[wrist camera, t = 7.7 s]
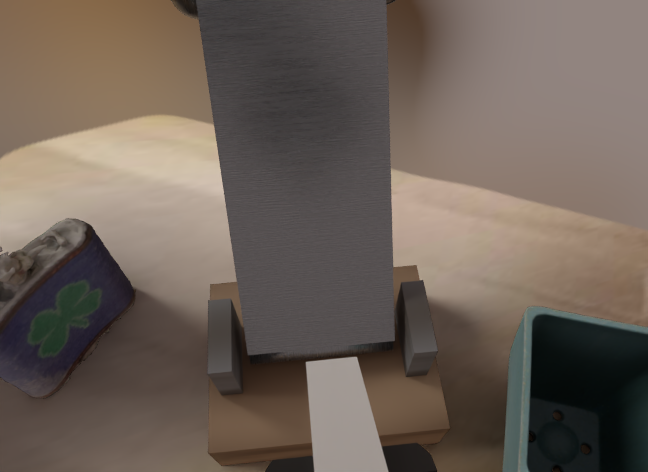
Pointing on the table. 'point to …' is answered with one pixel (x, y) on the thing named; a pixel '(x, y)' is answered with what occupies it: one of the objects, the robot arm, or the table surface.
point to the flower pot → (577, 394)
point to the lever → (304, 170)
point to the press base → (292, 389)
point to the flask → (57, 305)
